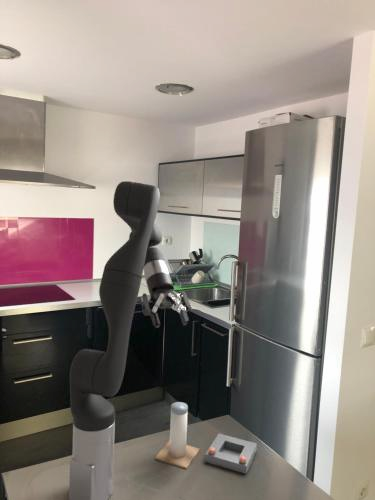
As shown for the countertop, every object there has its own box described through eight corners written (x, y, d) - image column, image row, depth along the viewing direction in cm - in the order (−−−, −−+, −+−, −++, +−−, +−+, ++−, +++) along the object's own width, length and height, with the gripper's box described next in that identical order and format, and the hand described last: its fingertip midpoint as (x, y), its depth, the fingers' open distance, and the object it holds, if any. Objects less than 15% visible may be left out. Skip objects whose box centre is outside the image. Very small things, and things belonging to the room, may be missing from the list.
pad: (186, 471, 102) (186, 467, 102) (154, 461, 105) (155, 457, 105) (199, 452, 110) (199, 448, 110) (169, 443, 113) (169, 440, 113)
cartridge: (181, 459, 105) (183, 411, 103) (166, 454, 106) (168, 407, 105) (188, 450, 109) (190, 404, 107) (173, 445, 110) (175, 400, 109)
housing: (246, 476, 101) (246, 462, 101) (204, 463, 105) (205, 450, 105) (256, 452, 111) (257, 440, 111) (218, 442, 115) (219, 430, 115)
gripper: (139, 271, 118) (152, 320, 109) (183, 270, 124) (199, 316, 115) (132, 286, 123) (144, 334, 114) (175, 284, 129) (189, 329, 120)
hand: (172, 325), depth 115 cm, fingers open, 8 cm apart
